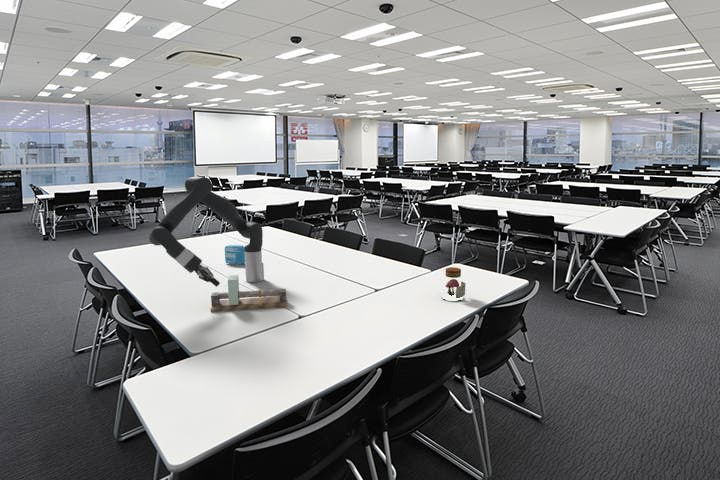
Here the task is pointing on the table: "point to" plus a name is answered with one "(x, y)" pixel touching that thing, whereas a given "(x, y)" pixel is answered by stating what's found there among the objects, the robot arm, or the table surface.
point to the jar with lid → (455, 282)
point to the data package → (234, 254)
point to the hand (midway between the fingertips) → (218, 284)
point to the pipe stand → (249, 300)
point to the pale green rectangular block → (233, 289)
